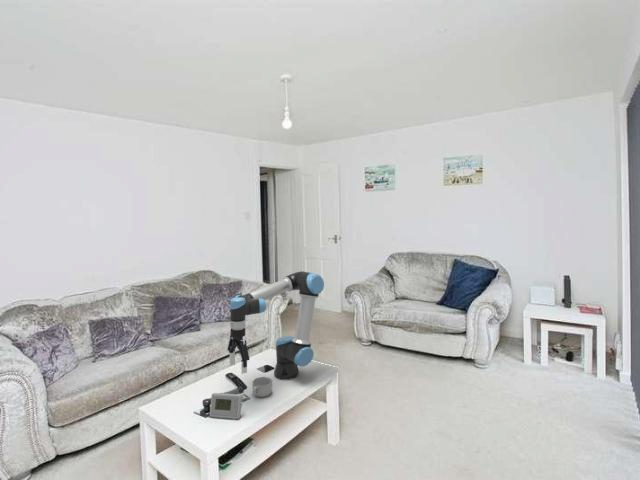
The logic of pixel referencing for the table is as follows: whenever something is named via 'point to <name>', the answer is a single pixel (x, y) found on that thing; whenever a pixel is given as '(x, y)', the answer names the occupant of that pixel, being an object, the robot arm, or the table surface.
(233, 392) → the swing arm
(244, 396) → the label plate
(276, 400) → the table surface
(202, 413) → the pivot post
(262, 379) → the teacup
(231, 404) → the digital clock
